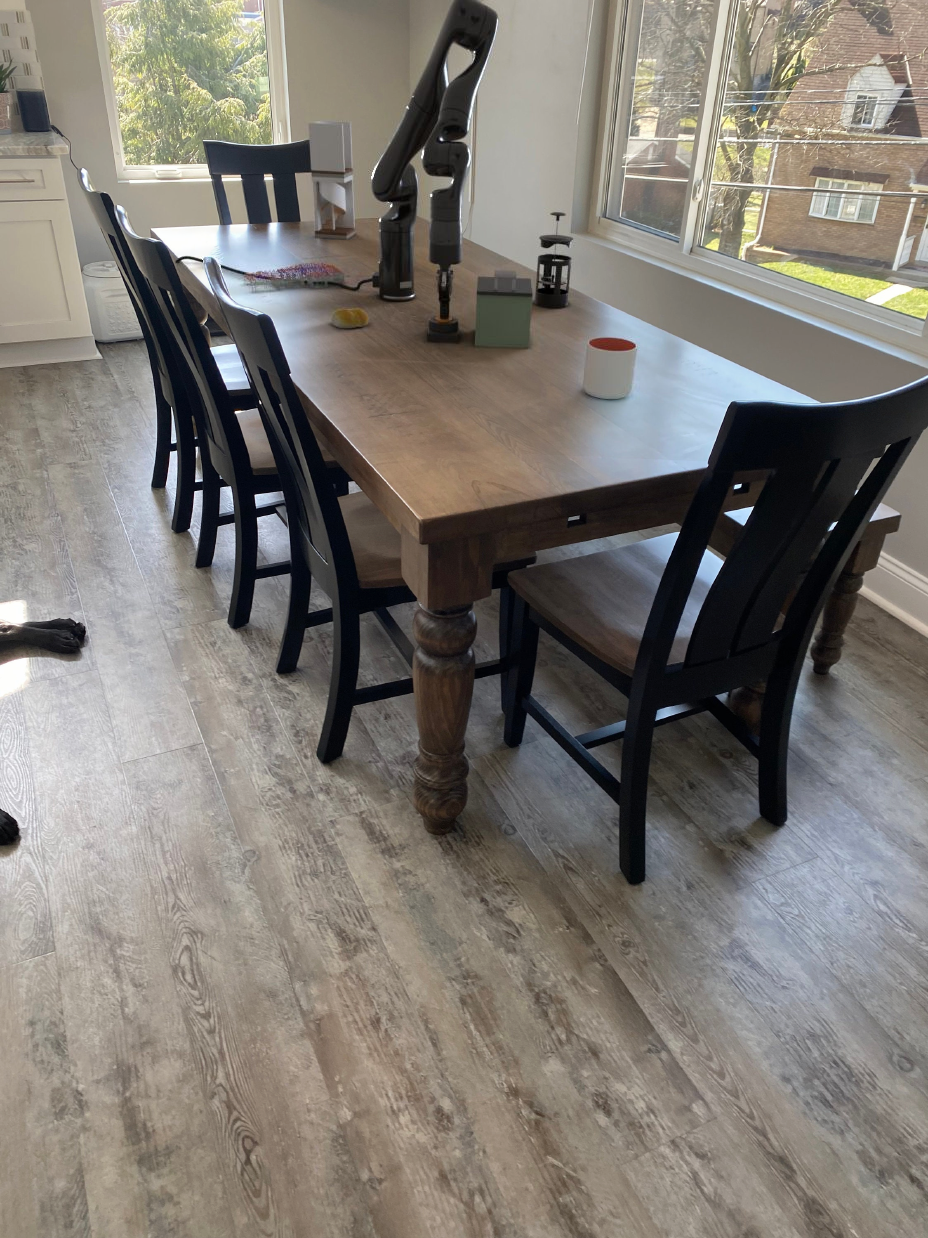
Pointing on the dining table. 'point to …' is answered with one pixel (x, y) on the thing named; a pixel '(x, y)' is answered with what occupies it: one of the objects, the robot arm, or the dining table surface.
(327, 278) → the multicoloured piece
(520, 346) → the sage green box
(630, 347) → the cup
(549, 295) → the french press
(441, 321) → the button
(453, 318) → the block
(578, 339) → the dining table surface
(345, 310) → the bread roll
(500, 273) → the lid
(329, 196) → the white tower
